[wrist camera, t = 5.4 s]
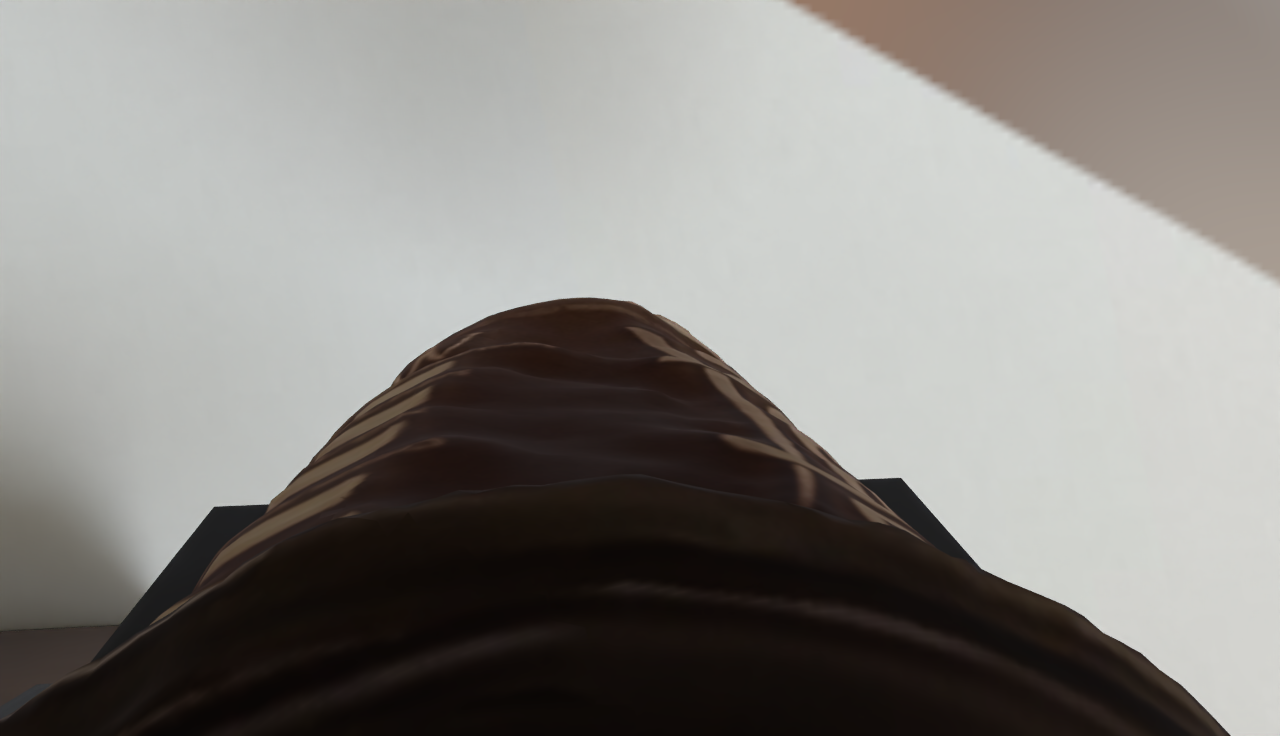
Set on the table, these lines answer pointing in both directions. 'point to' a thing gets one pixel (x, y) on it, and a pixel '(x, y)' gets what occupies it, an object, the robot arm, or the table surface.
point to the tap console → (45, 655)
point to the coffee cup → (598, 576)
